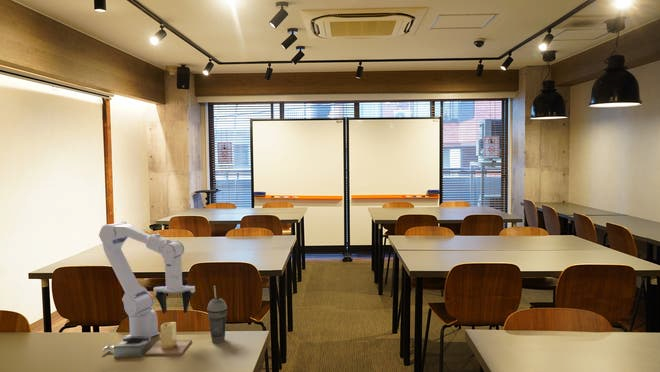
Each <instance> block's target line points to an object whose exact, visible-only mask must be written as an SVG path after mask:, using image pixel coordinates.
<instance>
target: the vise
mask: <svg viewBox="0 0 660 372" xmlns="http://www.w3.org/2000/svg"><path fill="white" fill-rule="evenodd" d="M151 347H152V337H151V336H126V335H125V336H124V337H123V338H122V341H121V342H120V343H115V345H111V344H107V345H105V347H103V348H102V349H101V352H102V353H104V352H106V351H109V350H111V351H113V357H114V358H142V357H143V356H144V354H146V353H147V352H148V351H149V350H150V348H151Z"/></svg>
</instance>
